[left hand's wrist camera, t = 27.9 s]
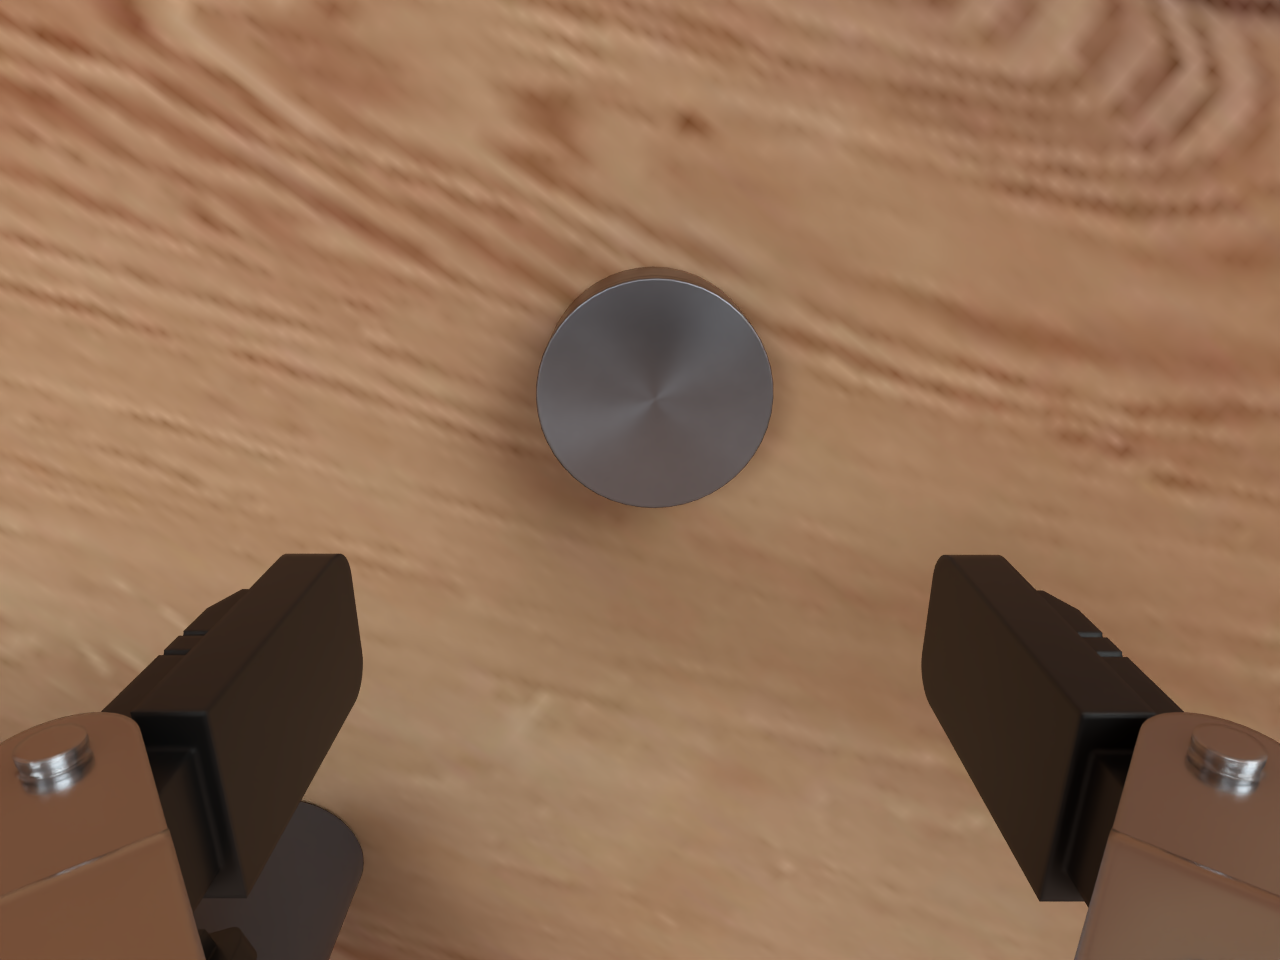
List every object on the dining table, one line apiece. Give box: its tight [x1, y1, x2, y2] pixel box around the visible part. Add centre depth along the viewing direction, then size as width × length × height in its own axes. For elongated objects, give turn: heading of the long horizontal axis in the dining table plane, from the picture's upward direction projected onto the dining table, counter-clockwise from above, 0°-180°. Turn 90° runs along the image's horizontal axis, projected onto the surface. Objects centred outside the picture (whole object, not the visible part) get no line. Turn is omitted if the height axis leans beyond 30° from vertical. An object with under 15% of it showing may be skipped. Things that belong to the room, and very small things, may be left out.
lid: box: [536, 267, 773, 508], centre depth 18 cm, size 5×5×2 cm
